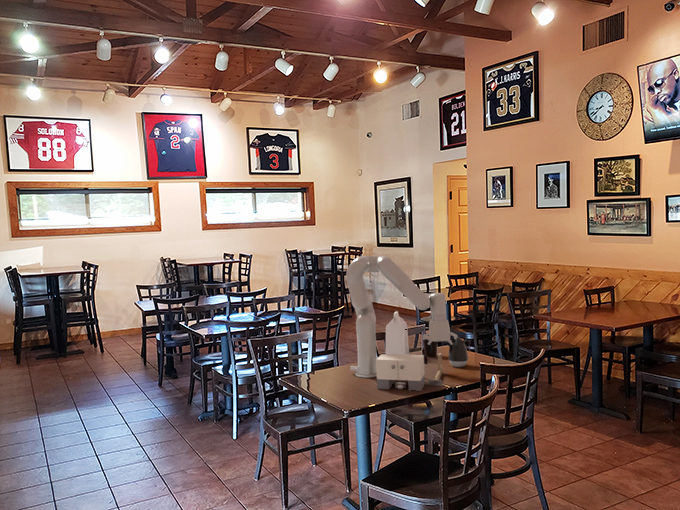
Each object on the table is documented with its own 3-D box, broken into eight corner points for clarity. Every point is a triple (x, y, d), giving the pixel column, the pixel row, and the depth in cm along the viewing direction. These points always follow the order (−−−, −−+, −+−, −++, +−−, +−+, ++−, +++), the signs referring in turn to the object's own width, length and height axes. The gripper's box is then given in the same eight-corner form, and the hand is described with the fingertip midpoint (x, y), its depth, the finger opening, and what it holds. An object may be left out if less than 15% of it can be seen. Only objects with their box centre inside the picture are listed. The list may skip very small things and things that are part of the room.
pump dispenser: (465, 369, 273) (464, 339, 273) (445, 367, 279) (444, 338, 278) (471, 364, 282) (470, 336, 281) (452, 363, 287) (451, 335, 287)
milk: (389, 354, 315) (388, 310, 314) (409, 355, 311) (407, 310, 310) (385, 359, 303) (383, 313, 302) (405, 359, 300) (403, 313, 299)
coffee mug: (428, 354, 312) (427, 337, 312) (441, 355, 306) (440, 338, 306) (417, 357, 303) (417, 340, 303) (431, 359, 297) (430, 341, 297)
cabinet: (376, 389, 242) (375, 360, 242) (382, 381, 255) (381, 353, 254) (420, 391, 236) (419, 361, 236) (424, 383, 249) (423, 355, 248)
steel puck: (394, 389, 242) (394, 384, 242) (396, 386, 247) (396, 382, 247) (404, 389, 241) (404, 385, 241) (406, 386, 245) (406, 382, 245)
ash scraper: (428, 385, 245) (427, 363, 245) (434, 372, 268) (434, 353, 268) (441, 386, 244) (440, 364, 243) (446, 373, 266) (446, 353, 266)
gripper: (420, 319, 263) (422, 353, 264) (455, 318, 258) (457, 353, 259) (422, 317, 271) (424, 350, 271) (457, 316, 265) (459, 350, 266)
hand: (440, 352), depth 265 cm, fingers open, 9 cm apart
